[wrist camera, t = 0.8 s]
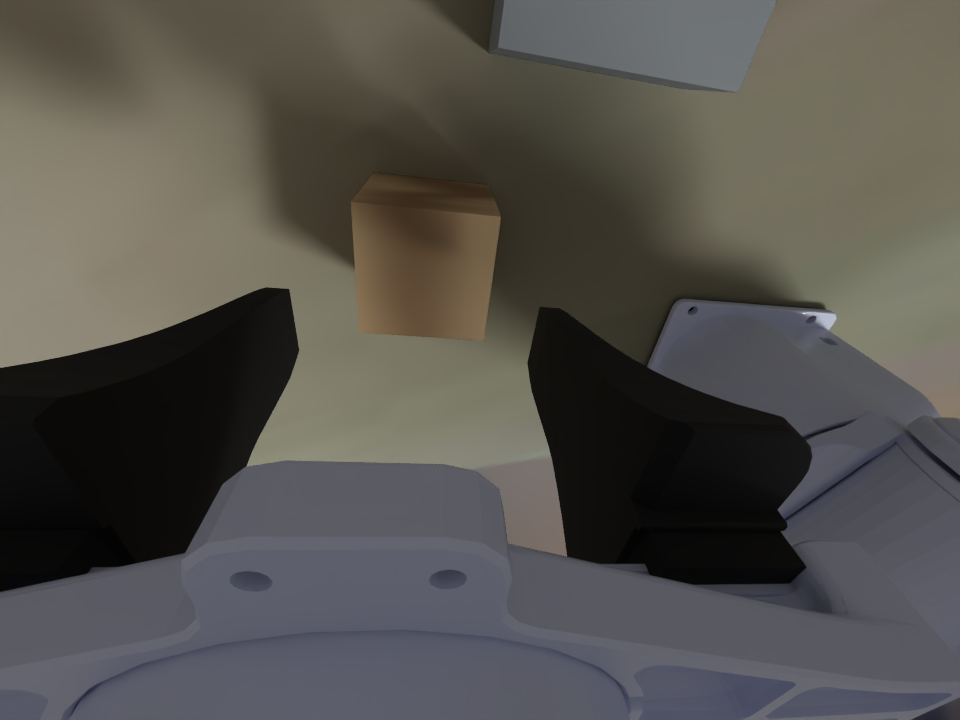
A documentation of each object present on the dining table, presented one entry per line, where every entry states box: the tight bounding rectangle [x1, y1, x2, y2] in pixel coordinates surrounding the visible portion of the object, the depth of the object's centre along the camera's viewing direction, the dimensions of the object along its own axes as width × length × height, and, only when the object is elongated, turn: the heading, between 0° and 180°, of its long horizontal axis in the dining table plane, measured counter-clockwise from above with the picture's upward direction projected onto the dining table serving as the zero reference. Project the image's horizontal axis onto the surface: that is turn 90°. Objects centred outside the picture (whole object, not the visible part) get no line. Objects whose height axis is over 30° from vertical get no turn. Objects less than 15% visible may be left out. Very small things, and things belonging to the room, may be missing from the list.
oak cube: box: [351, 173, 501, 340], centre depth 17 cm, size 5×5×5 cm
